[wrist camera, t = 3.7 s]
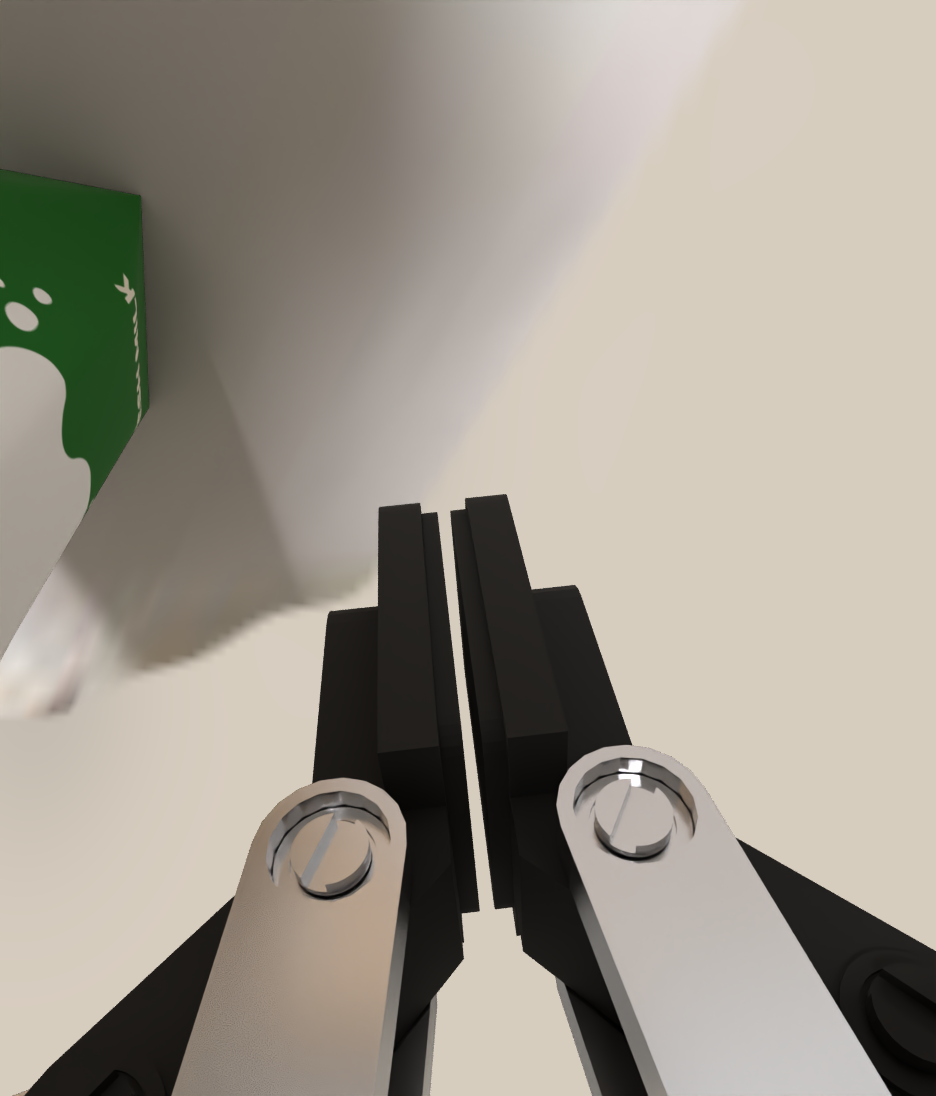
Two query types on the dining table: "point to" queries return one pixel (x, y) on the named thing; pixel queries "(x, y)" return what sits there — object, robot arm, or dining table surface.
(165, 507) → the dining table surface
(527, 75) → the dining table surface
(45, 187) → the soya milk
